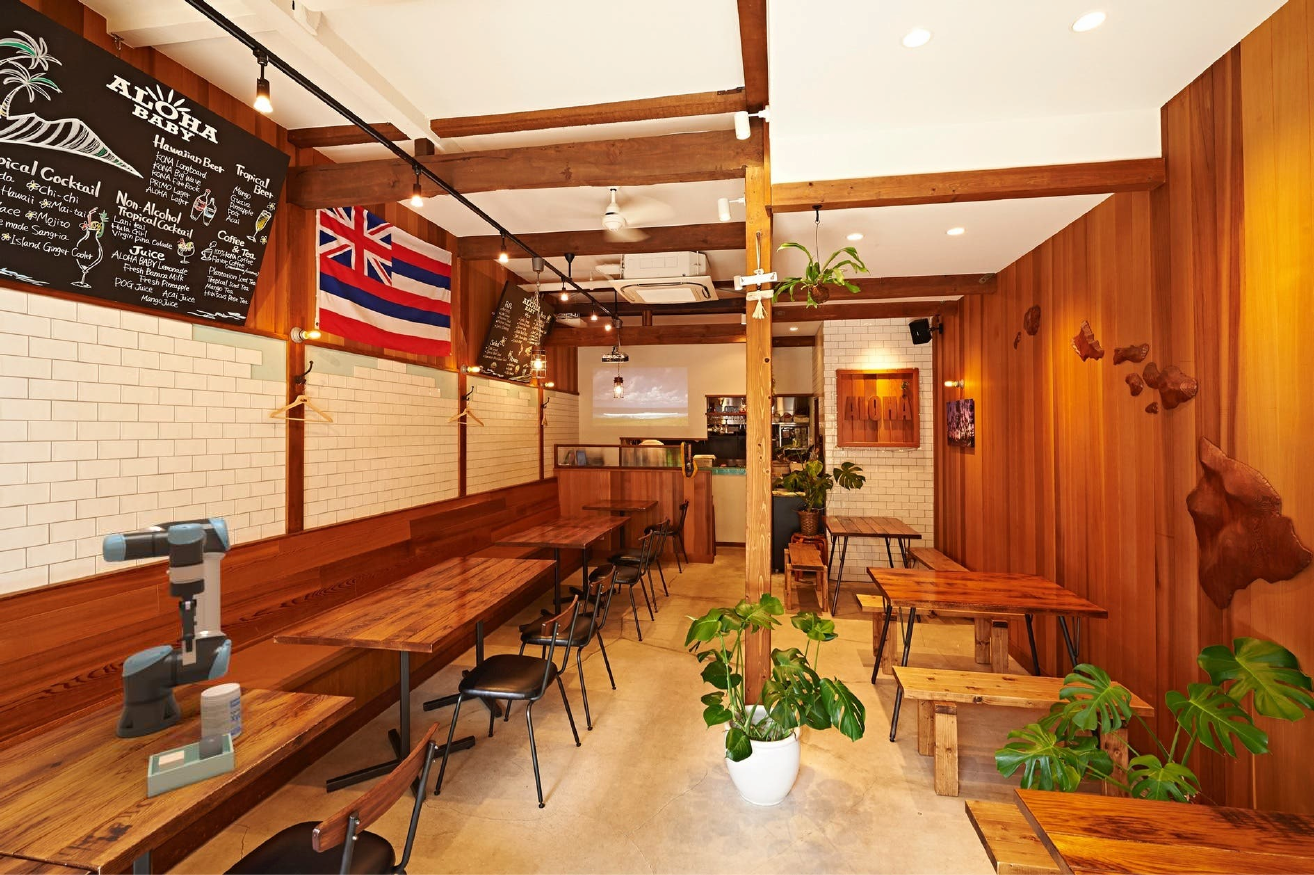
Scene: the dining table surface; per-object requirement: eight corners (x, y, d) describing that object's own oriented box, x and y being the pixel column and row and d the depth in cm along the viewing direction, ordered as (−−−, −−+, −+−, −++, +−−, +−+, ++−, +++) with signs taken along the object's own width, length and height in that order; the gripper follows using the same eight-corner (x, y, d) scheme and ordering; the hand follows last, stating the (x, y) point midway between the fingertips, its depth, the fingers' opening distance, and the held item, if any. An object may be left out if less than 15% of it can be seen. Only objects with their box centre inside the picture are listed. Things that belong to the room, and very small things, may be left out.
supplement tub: (240, 740, 168) (239, 690, 168) (199, 751, 163) (198, 699, 163) (242, 727, 176) (241, 679, 176) (203, 737, 171) (202, 688, 171)
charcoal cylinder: (199, 764, 155) (198, 738, 155) (222, 757, 158) (221, 731, 158) (199, 772, 151) (199, 745, 151) (223, 764, 154) (222, 738, 154)
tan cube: (160, 776, 150) (159, 757, 150) (184, 768, 153) (184, 750, 153) (159, 784, 146) (158, 765, 146) (184, 776, 149) (183, 757, 149)
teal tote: (150, 774, 151) (150, 756, 151) (231, 750, 162) (230, 733, 162) (148, 797, 141) (147, 777, 141) (234, 770, 152) (233, 751, 152)
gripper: (170, 575, 165) (172, 648, 165) (168, 591, 146) (170, 673, 146) (203, 570, 170) (205, 641, 170) (205, 585, 151) (207, 665, 151)
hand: (189, 656), depth 158 cm, fingers open, 13 cm apart
